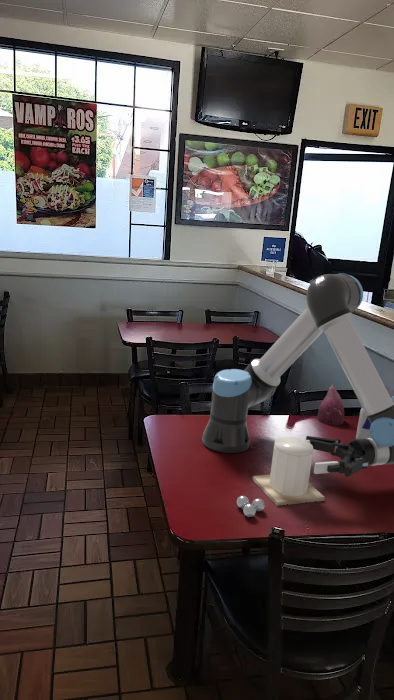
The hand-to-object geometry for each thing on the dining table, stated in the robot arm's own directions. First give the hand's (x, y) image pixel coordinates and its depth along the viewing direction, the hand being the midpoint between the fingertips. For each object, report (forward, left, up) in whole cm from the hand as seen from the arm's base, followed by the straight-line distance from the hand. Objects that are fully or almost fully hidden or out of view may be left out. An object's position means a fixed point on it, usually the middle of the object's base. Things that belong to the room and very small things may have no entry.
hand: (301, 456), depth 132 cm
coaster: (-1, -2, -10) cm, 10 cm away
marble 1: (+5, -18, -10) cm, 22 cm away
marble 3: (+7, -15, -10) cm, 19 cm away
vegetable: (-47, +43, -10) cm, 64 cm away
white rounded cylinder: (-1, -2, -9) cm, 9 cm away
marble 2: (+9, -18, -10) cm, 23 cm away
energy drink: (-27, +43, -10) cm, 51 cm away
